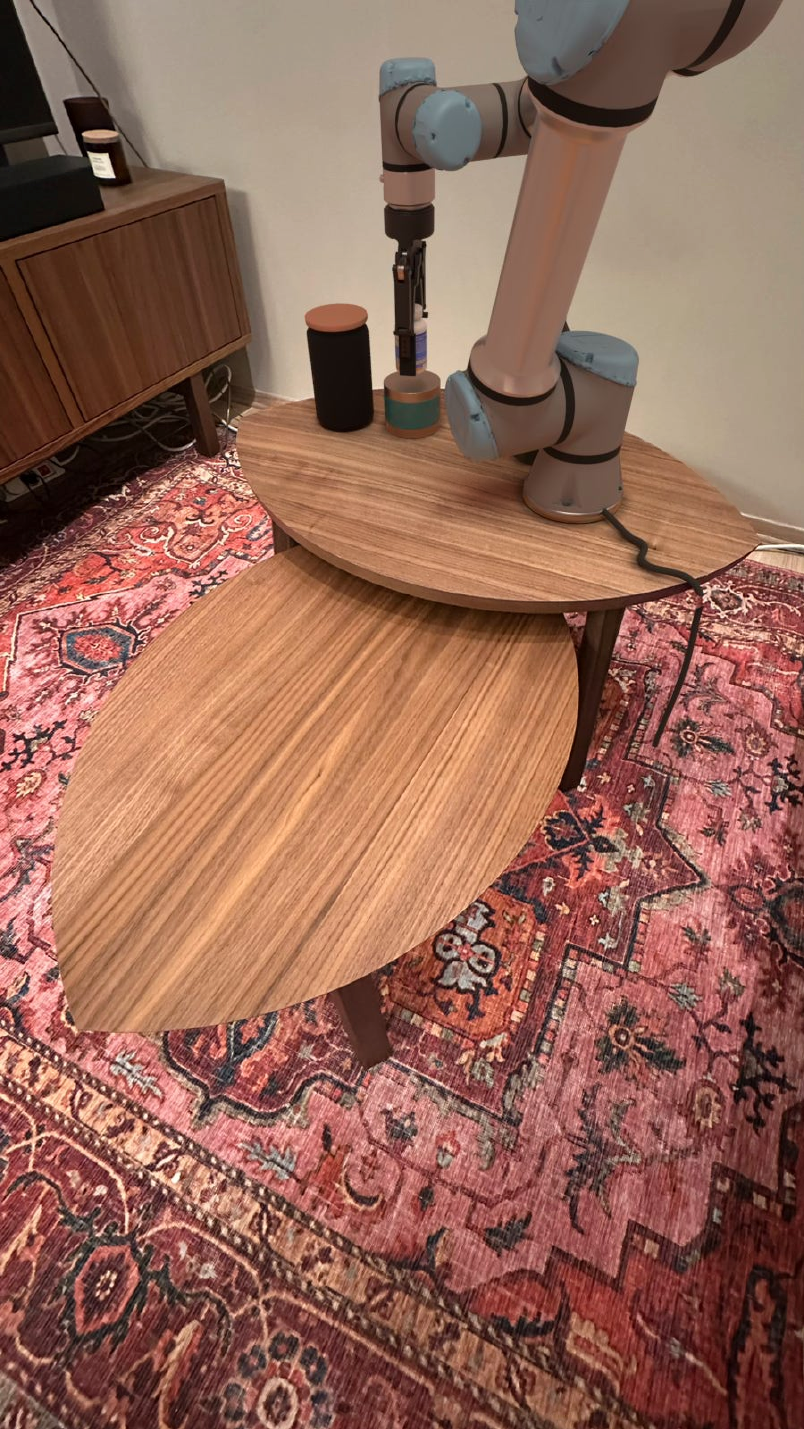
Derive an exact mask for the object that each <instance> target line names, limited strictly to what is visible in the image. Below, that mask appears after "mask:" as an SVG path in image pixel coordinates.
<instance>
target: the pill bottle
mask: <svg viewBox="0 0 804 1429" xmlns="http://www.w3.org/2000/svg"><path fill="white" fill-rule="evenodd" d="M421 317H422V306H421V305H419V304H416V303H415V314H414V333H416V374H420V373H422V372H424V371H425V370H427V368H428V325H427V322H426V321H425V319H424V318H421ZM393 331H395V325H394V326H393ZM394 359H395V369H396V372H397V371H398V372H399V373H400V369H399V335H394Z"/></svg>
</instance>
